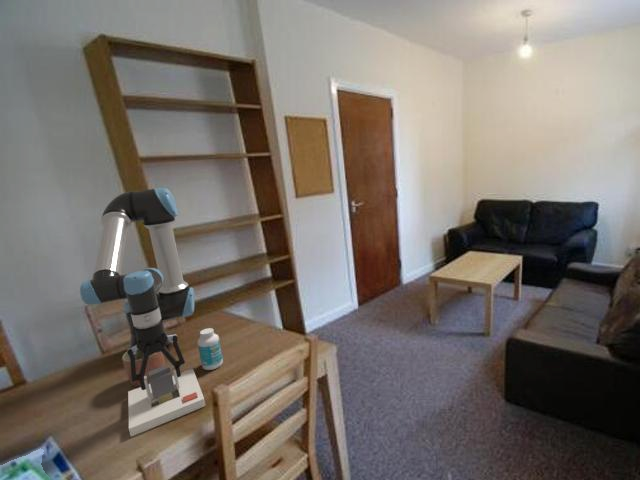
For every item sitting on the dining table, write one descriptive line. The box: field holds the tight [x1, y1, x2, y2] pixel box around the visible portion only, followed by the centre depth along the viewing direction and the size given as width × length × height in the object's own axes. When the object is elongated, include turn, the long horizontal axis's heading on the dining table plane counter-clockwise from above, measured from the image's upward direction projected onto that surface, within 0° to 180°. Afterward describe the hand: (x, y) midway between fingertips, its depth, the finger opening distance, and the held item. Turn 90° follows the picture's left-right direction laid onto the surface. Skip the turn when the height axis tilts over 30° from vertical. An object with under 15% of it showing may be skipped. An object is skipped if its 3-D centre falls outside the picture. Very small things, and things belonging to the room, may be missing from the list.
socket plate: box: [127, 368, 207, 438], centre depth 106 cm, size 20×20×3 cm
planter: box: [121, 349, 166, 388], centre depth 119 cm, size 12×12×11 cm
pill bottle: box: [197, 327, 224, 371], centre depth 123 cm, size 8×7×14 cm
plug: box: [148, 364, 175, 404], centre depth 105 cm, size 6×6×10 cm
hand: (164, 391), depth 106 cm, fingers open, 7 cm apart
